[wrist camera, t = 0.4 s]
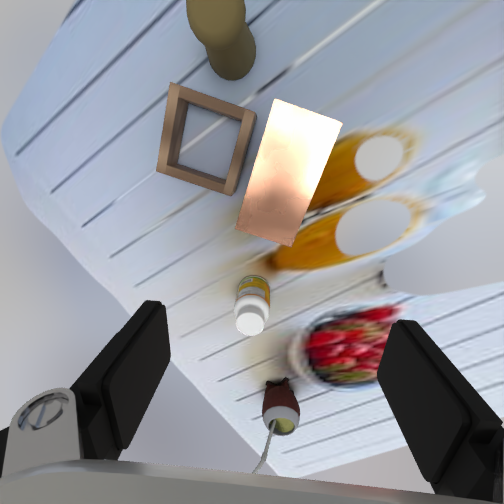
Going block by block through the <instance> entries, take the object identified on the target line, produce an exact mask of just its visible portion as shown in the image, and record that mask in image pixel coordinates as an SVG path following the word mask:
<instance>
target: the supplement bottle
mask: <svg viewBox="0 0 504 504" xmlns="http://www.w3.org/2000/svg"><path fill="white" fill-rule="evenodd" d="M269 313H270V288H269V285H268V283H267V282H266V280H264V279H263V278H261V277H259V276H249V277H246V278H244V279H243V280H242V281H241V283H240V285H239V288H238V292H237V297H236V301H235V305H234V316H235V318H236V327H237V329H238V330H239V332H241V333H242V334H244V335H247V336H254V335H257V334H259V333H260V332H261V331H262V330H263V328H264V323H265V322H266V321H267V319H268V317H269Z"/></svg>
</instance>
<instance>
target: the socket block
mask: <svg viewBox="0 0 504 504" xmlns="http://www.w3.org/2000/svg"><path fill="white" fill-rule="evenodd" d="M189 103H190V104H193V105H195V106H198V107H201V108H204V109H207V110H210V111H212V112H215V113H218V114H221V115H224V116H227V117H229V118H232V119H235V120H238V121H241V122H242V124H241V127H240V131H239V135H238V139H237V142H236V146H235V150H234V153H233V157H232V161H231V165H230V168H229V172H228V176H227V179H226V180H224V179H221V178H218V177H215V176H212V175H209V174H206V173H203V172H200V171H197V170H194V169H191V168H188V167H186V166H183V165H180V164H177V162H178V157H179V151H180V146H181V141H182V135H183V130H184V125H185V120H186V114H187V109H188V104H189ZM256 118H257V116H256V113H255V112H253V111H251V110H248V109H245V108H242V107H239V106H237V105H234V104H231V103H228V102H225V101H222V100H220V99H217V98H214V97H211V96H208V95H206V94H203V93H200V92H197V91H194V90H192V89H189V88H186V87H183V86H180V85H178V84H175V83H172V82H170V86H169V93H168V99H167V105H166V112H165V118H164V124H163V131H162V137H161V143H160V150H159V156H158V162H157V169H156V171H157V172H160V173H163V174H166V175H169V176H172V177H175V178H178V179H181V180H184V181H187V182H190V183H193V184H196V185H199V186H202V187H205V188H208V189H211V190H214V191H217V192H220V193H223V194H226V195H229V196H232V195H233V194H234V193H235V191H236V187H237V184H238V180H239V177H240V174H241V170H242V167H243V163H244V160H245V156H246V153H247V149H248V146H249V142H250V139H251V135H252V132H253V128H254V125H255V122H256Z"/></svg>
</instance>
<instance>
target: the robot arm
mask: <svg viewBox="0 0 504 504" xmlns="http://www.w3.org/2000/svg"><path fill="white" fill-rule="evenodd" d="M170 357H171V352H170V343H169V334H168V324H167V315H166V307H165V305H162V303H161V302H160V301H150V300H146V301H145V302H144V303H143V304H142V305H141V306H140V308H139V309H138V310H137V311H136V312H135V314H134V315H133V316H132V317H131V318H130V320H129V321H128V322H127V323H126V324H125V325H124V327H123V328H122V329H121V330H120V331H119V332H118V333H116V335H115V336H114V337H113V338H112V339H111V340H110V342H109V343H108V344H107V345H106V346H105V347H104V349H103V350H102V351H101V352H100V353H99V355H98V356H97V357H96V358H95V359H94V360H93V362H92V363H91V364H90V365H89V366H88V368H87V369H86V370H85V371H84V372H83V373H82V374H81V376H80V377H79V378H78V379H77V380H76V382H75V383H74V384H73V385H72V386H71V387H70V389H66V388H56V389H51V390H48V391H45V392H43V393H41V394H39V395H37V396H35V397H33V398H32V399H31V400H29V401H28V402H26V403H25V404H24V405H23V406H22V407H21V408H20V409H19V410H18V411H17V412H16V414H15V415H14V417H13V418H12V421H11V423H10V426H9V427H7V428H5V429H3V430H1V431H0V504H504V428H503V427H502V426H501V425H502V423H503V422H502V420H501V419H500V418H499V417H498V416H497V415H496V413H495V412H494V411H493V410H492V409H491V408H490V407H489V405H488V404H487V403H486V402H485V401H484V400H483V398H482V397H481V396H480V395H479V394H478V393H477V391H476V390H475V389H474V388H473V387H472V386H471V384H470V383H469V382H468V381H467V380H466V379H465V377H464V376H463V375H462V374H461V373H460V372H459V370H458V369H457V368H456V367H455V366H454V365H453V363H452V362H451V361H450V360H449V359H448V358H447V356H446V355H445V354H444V353H443V352H442V351H441V349H440V348H439V347H438V346H437V345H436V344H435V342H434V341H433V340H432V339H431V338H430V337H429V335H428V334H427V333H426V332H425V331H424V330H423V328H422V327H421V326H420V325H419V324H418V323H417V322H416V321H414V320H398V321H397V322H396V323H393V324H392V327H391V330H390V333H389V336H388V339H387V343H386V346H385V349H384V352H383V355H382V358H381V362H380V365H379V368H378V371H377V378H378V382H379V384H380V386H381V388H382V390H383V393H384V395H385V397H386V399H387V401H388V403H389V405H390V408H391V410H392V412H393V414H394V416H395V418H396V420H397V422H398V425H399V427H400V429H401V431H402V433H403V435H404V437H405V440H406V442H407V444H408V446H409V448H410V450H411V452H412V454H413V457H414V459H415V461H416V463H417V465H418V467H419V469H420V472H421V474H422V475H423V477H424V479H425V480H426V481H427V482H430V484H431V486H432V488H433V490H434V492H435V494H430V493H421V492H413V491H403V490H396V489H386V488H378V487H370V486H361V485H352V484H344V483H334V482H325V481H315V480H307V479H298V478H289V477H280V476H271V475H261V474H252V473H243V472H233V471H223V470H213V469H203V468H193V467H184V466H175V465H164V464H154V463H142V462H130V461H118V458H119V456H120V454H121V451H122V450H123V449H127V448H128V447H129V445H130V443H131V441H132V439H133V437H134V435H135V433H136V431H137V428H138V426H139V424H140V422H141V420H142V418H143V416H144V414H145V412H146V410H147V408H148V405H149V404H150V401H151V399H152V397H153V395H154V393H155V391H156V389H157V387H158V385H159V383H160V380H161V379H162V376H163V374H164V372H165V370H166V368H167V366H168V364H169V361H170ZM104 459H106V460H104Z"/></svg>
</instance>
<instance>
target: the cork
mask: <svg viewBox="0 0 504 504" xmlns="http://www.w3.org/2000/svg"><path fill="white" fill-rule="evenodd" d="M186 7H187V17H188V21H189V24H190V27H191V29H192V31H193V32H194V34H195V36H196V37H197V39H198V40H199V41H200V42H201V43H202V44H203V45H205V48H206V51H207V55H208V58H209V62H210V65H211V66H212V68H213V70H214V71H215V73H217V74H218V75H219V76H220V77H221V78H224V79H226V80H238V79H241V78H243V77H244V76H245V75H246V74H247V73H249V71H250V69H251V68H252V66H253V64H254V60H255V57H256V46H255V41H254V37H253V35H252V33H251V32H250V30H249V28H248V26H247V24H246V22H245V14H246V8H245V3H244V0H186Z"/></svg>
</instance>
